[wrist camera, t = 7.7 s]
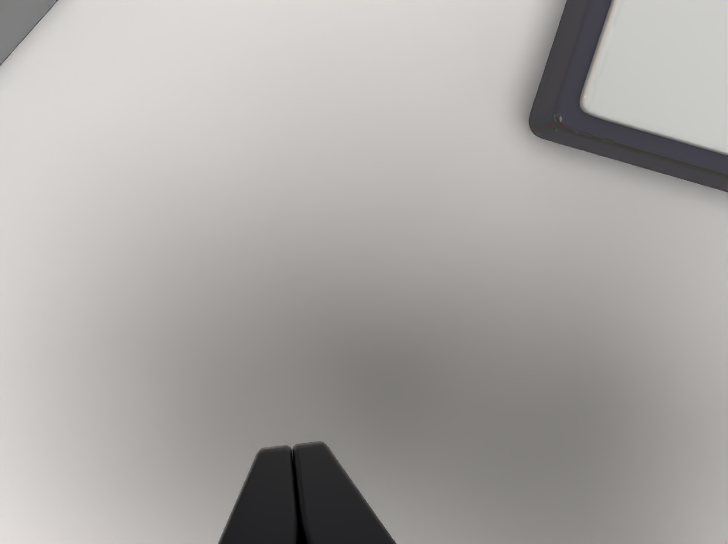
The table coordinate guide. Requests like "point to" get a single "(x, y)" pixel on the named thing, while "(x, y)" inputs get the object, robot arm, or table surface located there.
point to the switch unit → (19, 21)
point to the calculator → (641, 85)
